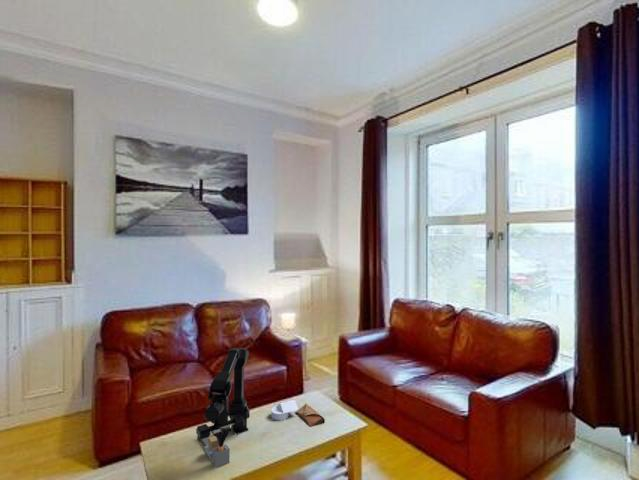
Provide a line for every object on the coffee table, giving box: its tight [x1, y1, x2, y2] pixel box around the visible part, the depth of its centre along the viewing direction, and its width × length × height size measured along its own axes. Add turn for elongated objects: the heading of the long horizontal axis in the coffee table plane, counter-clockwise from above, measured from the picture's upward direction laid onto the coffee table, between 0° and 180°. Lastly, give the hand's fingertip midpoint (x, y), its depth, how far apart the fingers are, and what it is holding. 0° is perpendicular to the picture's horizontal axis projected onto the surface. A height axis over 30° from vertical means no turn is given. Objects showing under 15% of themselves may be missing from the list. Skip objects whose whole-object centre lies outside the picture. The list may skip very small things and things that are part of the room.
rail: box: [196, 435, 210, 448], centre depth 164 cm, size 5×20×2 cm, turn 36°
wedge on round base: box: [270, 399, 300, 421], centre depth 194 cm, size 9×7×13 cm
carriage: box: [204, 435, 219, 460], centre depth 159 cm, size 6×6×7 cm
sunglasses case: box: [294, 403, 326, 428], centre depth 192 cm, size 18×7×7 cm
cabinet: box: [211, 443, 231, 469], centre depth 153 cm, size 6×4×6 cm, turn 126°
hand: (220, 446), depth 153 cm, fingers closed, pressing on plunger
